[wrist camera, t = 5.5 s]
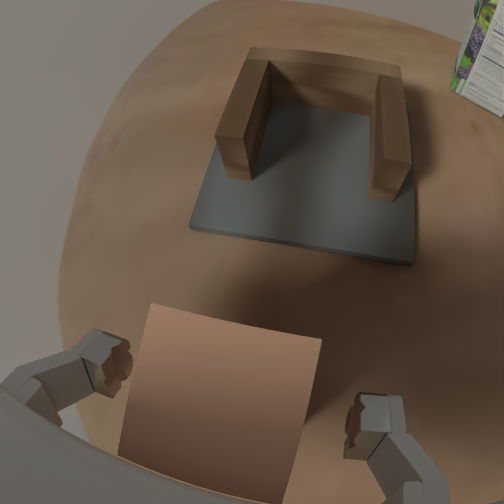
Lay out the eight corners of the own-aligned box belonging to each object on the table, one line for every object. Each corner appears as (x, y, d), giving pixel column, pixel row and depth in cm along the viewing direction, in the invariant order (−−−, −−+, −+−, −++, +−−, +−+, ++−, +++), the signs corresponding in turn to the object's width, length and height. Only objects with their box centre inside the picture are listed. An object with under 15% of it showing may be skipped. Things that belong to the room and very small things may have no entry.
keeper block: (304, 354, 16) (322, 339, 7) (285, 436, 14) (281, 505, 6) (220, 337, 17) (151, 302, 8) (201, 416, 15) (117, 455, 7)
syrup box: (452, 63, 23) (486, -52, 9) (501, 89, 21) (547, -17, 8) (449, 91, 21) (494, -44, 8) (503, 121, 20) (565, 1, 6)
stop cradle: (404, 107, 21) (418, 63, 17) (410, 266, 17) (443, 233, 12) (241, 85, 23) (233, 40, 19) (191, 229, 19) (165, 189, 15)
